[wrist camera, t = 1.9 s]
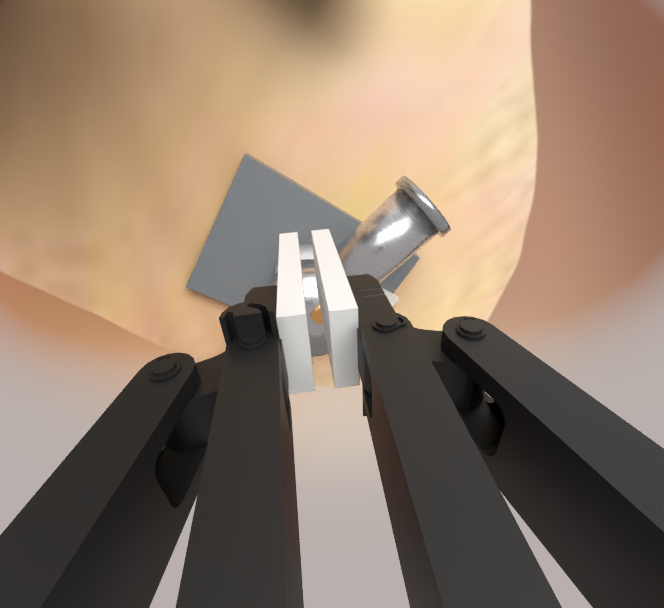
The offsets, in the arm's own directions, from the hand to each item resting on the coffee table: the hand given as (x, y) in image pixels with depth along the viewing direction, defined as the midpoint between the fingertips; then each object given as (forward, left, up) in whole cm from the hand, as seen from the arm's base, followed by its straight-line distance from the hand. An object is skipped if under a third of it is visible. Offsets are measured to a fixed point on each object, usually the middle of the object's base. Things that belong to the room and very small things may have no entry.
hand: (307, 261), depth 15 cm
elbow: (+7, -4, -16) cm, 18 cm away
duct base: (+6, -9, -22) cm, 25 cm away
